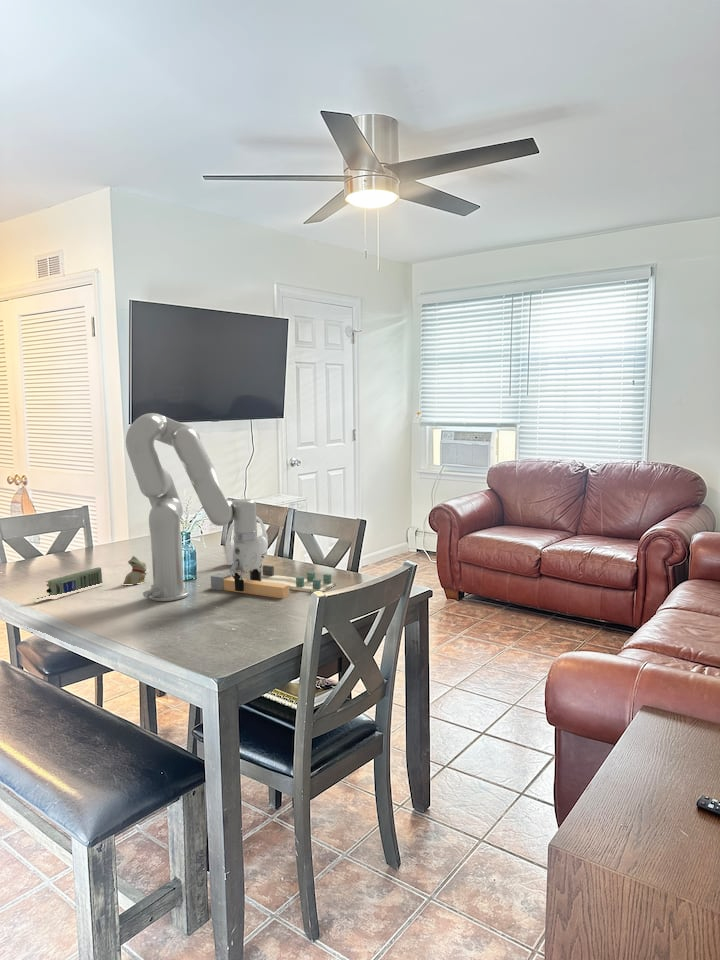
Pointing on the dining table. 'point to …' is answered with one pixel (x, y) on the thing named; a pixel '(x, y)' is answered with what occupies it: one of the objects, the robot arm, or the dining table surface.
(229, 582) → the grey-capped wooden beam
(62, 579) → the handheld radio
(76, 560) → the dining table surface
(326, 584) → the clip holder
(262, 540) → the headset
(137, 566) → the chocolate bunny
